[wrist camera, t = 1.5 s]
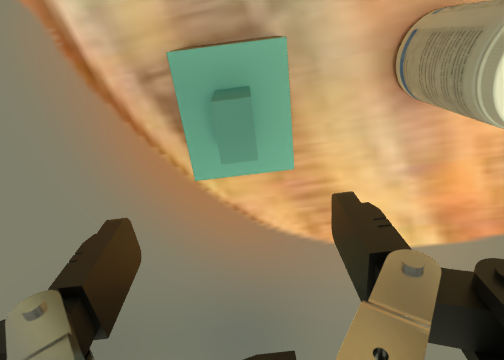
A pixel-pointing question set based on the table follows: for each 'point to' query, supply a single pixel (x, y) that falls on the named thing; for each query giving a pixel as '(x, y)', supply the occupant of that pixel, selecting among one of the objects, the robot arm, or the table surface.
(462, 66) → the supplement tub
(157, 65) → the table surface
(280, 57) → the lid
